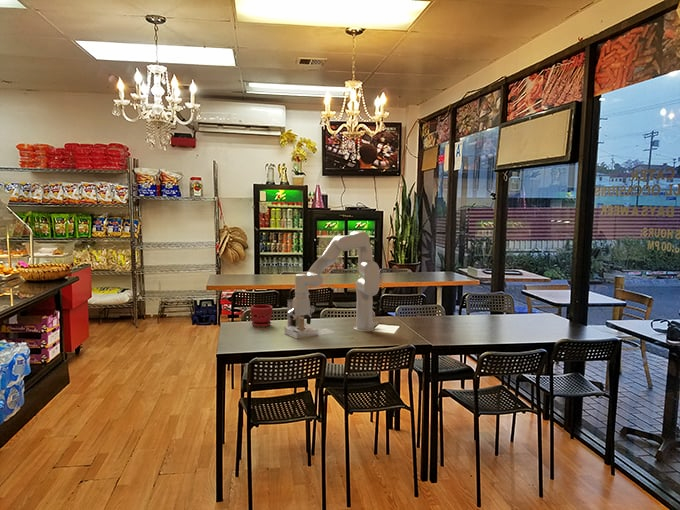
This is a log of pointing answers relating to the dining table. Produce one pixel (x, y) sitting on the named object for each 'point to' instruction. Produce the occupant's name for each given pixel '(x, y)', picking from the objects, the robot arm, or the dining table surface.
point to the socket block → (300, 331)
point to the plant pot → (261, 315)
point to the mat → (325, 331)
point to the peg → (301, 323)
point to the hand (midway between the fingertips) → (301, 325)
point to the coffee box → (292, 314)
